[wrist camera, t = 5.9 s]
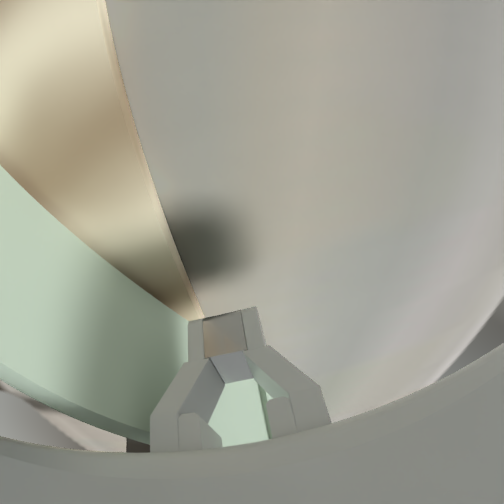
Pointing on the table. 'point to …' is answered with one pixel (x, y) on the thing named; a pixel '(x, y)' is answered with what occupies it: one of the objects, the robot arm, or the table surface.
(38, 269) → the gate panel
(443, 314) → the table surface
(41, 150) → the base
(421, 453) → the robot arm
